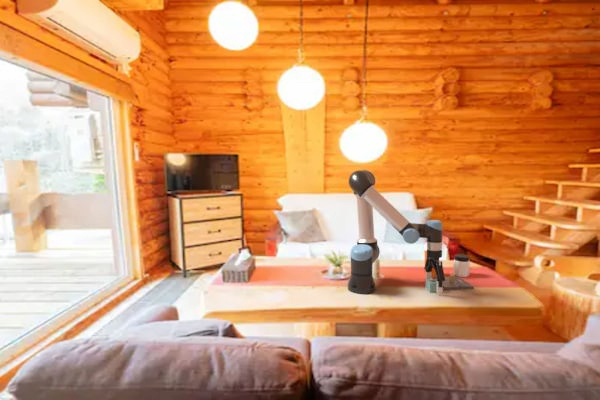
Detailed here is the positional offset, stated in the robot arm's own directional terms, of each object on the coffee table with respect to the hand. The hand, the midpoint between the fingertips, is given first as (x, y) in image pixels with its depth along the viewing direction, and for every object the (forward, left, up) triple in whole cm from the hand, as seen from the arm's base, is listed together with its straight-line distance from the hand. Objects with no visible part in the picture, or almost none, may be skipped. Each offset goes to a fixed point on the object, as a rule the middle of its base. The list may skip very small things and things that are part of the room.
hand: (433, 288), depth 175 cm
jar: (+27, +23, -1) cm, 35 cm away
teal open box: (0, 0, -1) cm, 1 cm away
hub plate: (+14, +8, -1) cm, 16 cm away
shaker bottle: (+9, +24, -1) cm, 26 cm away
